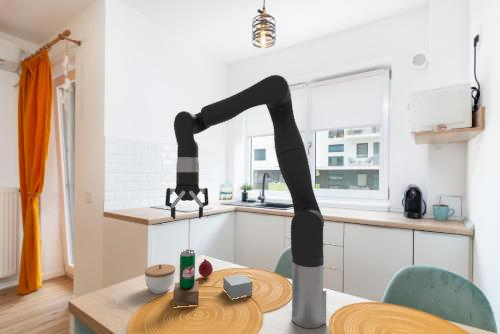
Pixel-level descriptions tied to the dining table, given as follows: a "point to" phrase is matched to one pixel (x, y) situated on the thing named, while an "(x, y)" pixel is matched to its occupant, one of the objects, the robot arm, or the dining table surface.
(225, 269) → the dining table surface
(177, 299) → the walnut block
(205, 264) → the onion
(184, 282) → the soda can
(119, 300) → the dining table surface
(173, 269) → the lidded jar
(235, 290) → the grey block
